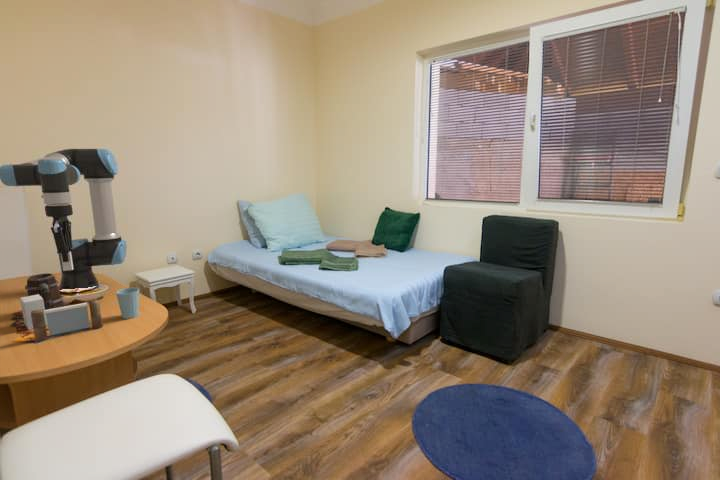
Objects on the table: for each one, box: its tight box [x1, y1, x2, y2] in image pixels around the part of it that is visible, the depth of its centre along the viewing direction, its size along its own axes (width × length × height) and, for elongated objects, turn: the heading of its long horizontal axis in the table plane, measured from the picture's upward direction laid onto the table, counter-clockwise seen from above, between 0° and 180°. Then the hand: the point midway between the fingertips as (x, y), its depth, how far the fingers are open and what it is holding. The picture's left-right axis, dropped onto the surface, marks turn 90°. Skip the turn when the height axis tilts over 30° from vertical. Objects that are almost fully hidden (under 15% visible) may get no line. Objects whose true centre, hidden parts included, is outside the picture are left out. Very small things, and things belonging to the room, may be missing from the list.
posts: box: [31, 299, 103, 343], centre depth 135 cm, size 19×3×10 cm, turn 127°
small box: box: [19, 294, 48, 331], centre depth 142 cm, size 8×6×10 cm
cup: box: [115, 287, 140, 320], centre depth 150 cm, size 8×8×10 cm
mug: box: [24, 272, 66, 310], centre depth 152 cm, size 16×12×15 cm
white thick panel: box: [45, 302, 91, 336], centre depth 135 cm, size 12×2×9 cm, turn 128°
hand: (68, 269), depth 140 cm, fingers closed
